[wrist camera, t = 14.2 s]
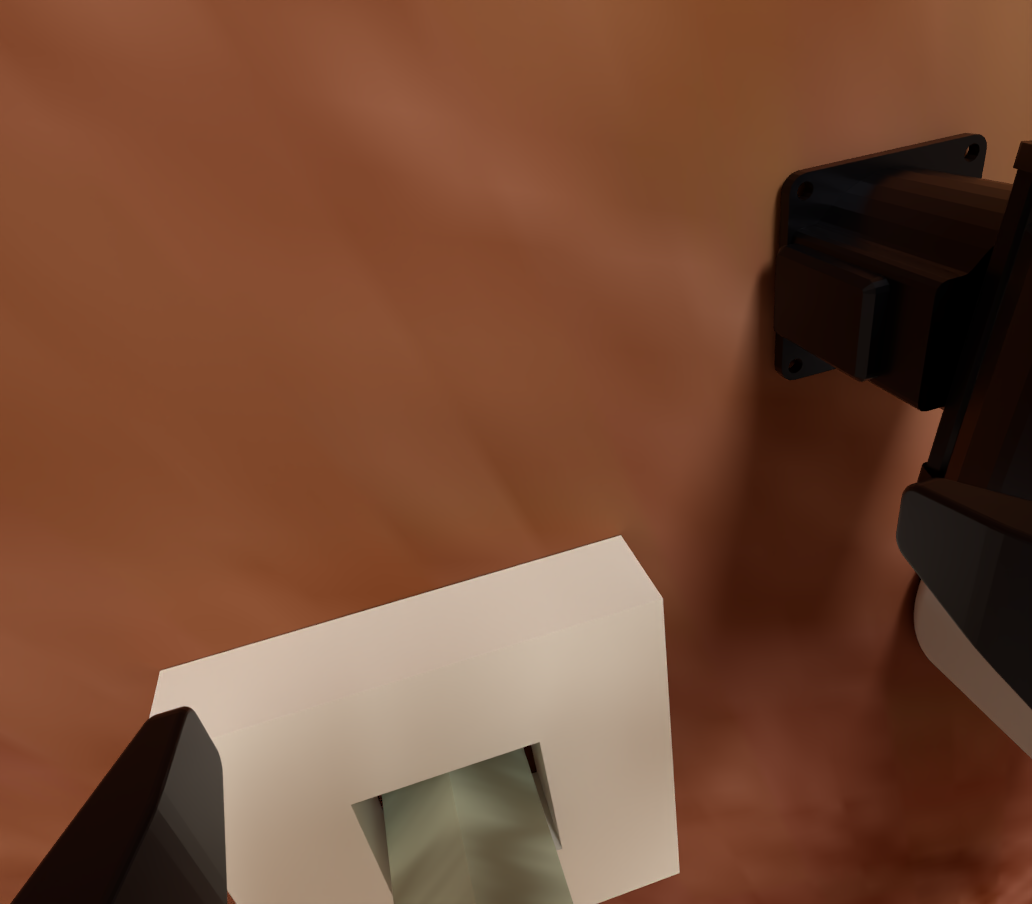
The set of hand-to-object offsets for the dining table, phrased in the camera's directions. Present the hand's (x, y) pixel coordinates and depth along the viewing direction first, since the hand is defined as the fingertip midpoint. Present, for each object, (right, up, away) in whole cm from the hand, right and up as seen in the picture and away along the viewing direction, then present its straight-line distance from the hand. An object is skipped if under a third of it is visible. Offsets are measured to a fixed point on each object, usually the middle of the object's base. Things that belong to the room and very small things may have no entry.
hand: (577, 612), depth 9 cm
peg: (-3, -10, +20) cm, 22 cm away
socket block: (-3, -10, +20) cm, 22 cm away
